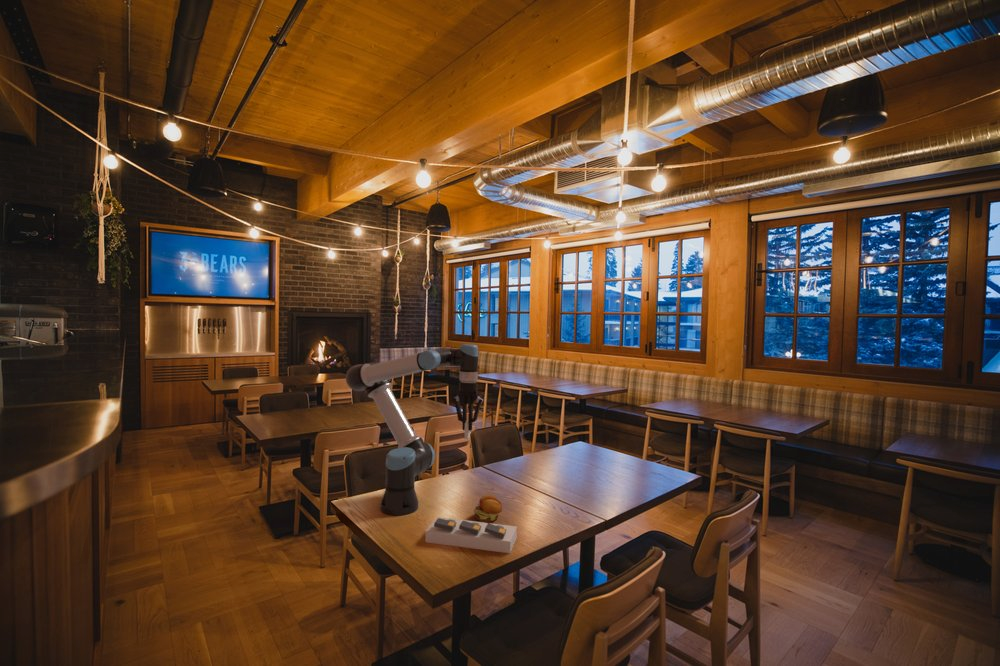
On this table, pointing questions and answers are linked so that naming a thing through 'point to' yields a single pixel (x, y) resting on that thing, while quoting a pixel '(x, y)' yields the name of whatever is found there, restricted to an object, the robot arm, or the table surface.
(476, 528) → the rocker middle
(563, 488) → the table surface
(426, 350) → the robot arm
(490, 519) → the cheeseburger
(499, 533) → the rocker right
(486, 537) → the rocker switch panel
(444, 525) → the rocker left
